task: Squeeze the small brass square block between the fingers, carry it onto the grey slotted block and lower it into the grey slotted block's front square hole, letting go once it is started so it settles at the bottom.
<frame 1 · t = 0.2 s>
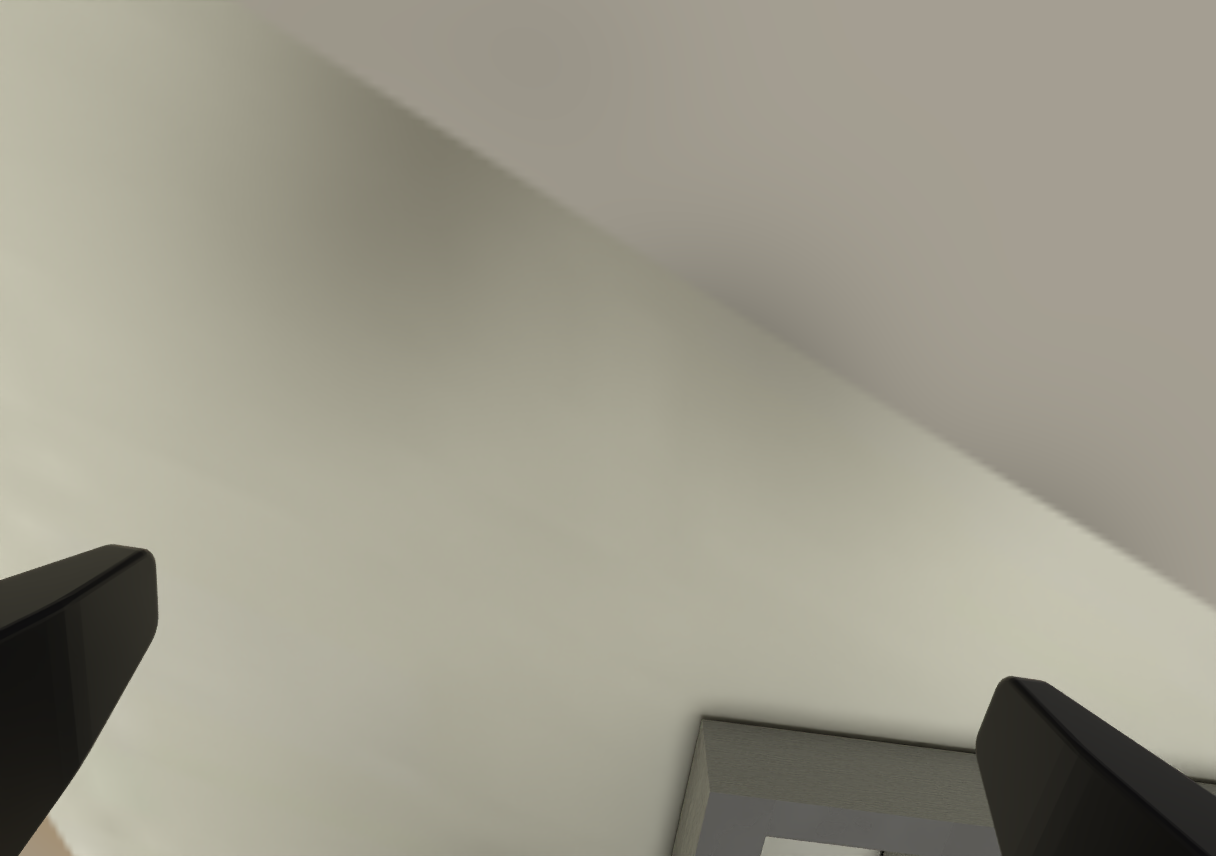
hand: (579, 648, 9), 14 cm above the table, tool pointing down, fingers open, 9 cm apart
grey slotted block: (943, 845, 29), on the table
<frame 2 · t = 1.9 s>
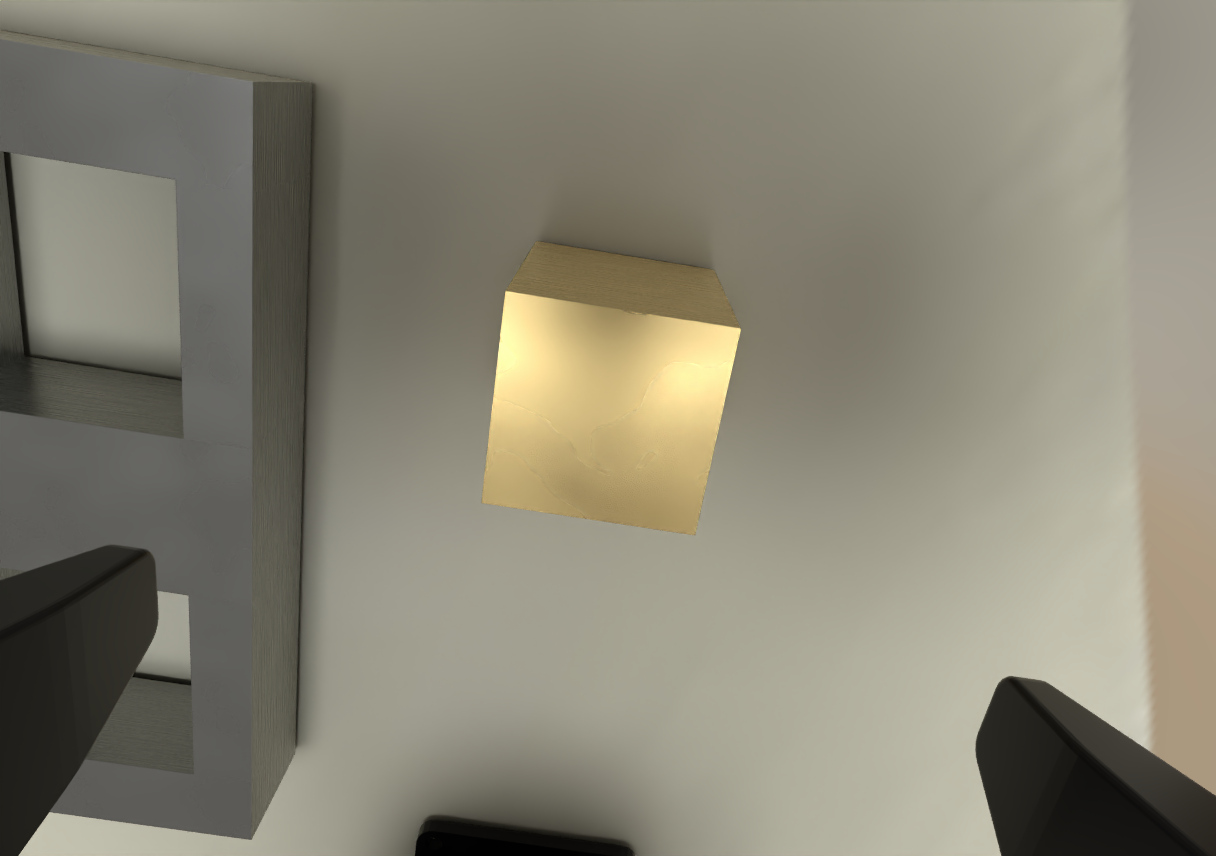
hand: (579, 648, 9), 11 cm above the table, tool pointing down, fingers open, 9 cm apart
grey slotted block: (139, 446, 21), on the table
brass block: (611, 341, 20), on the table
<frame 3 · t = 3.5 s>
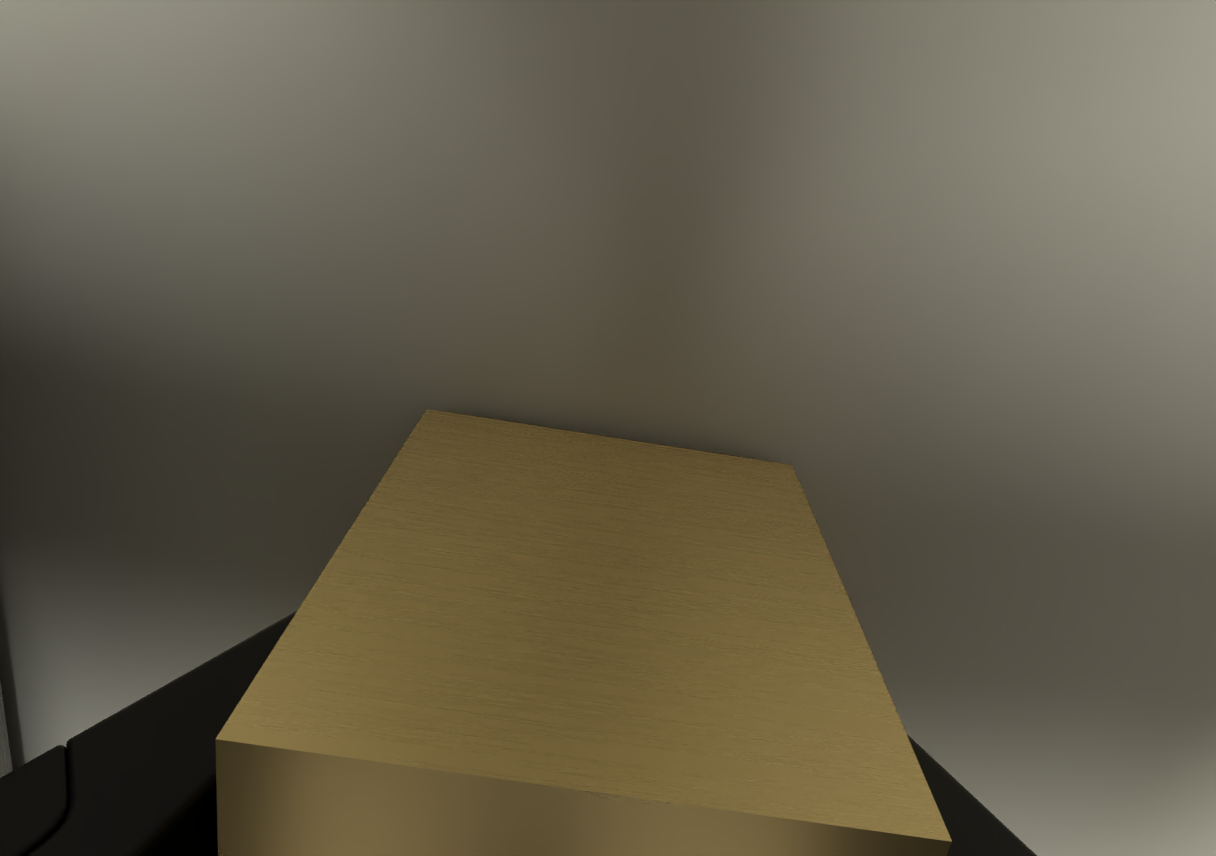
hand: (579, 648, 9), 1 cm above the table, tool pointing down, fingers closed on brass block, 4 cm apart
brass block: (584, 593, 10), on the table, touching gripper
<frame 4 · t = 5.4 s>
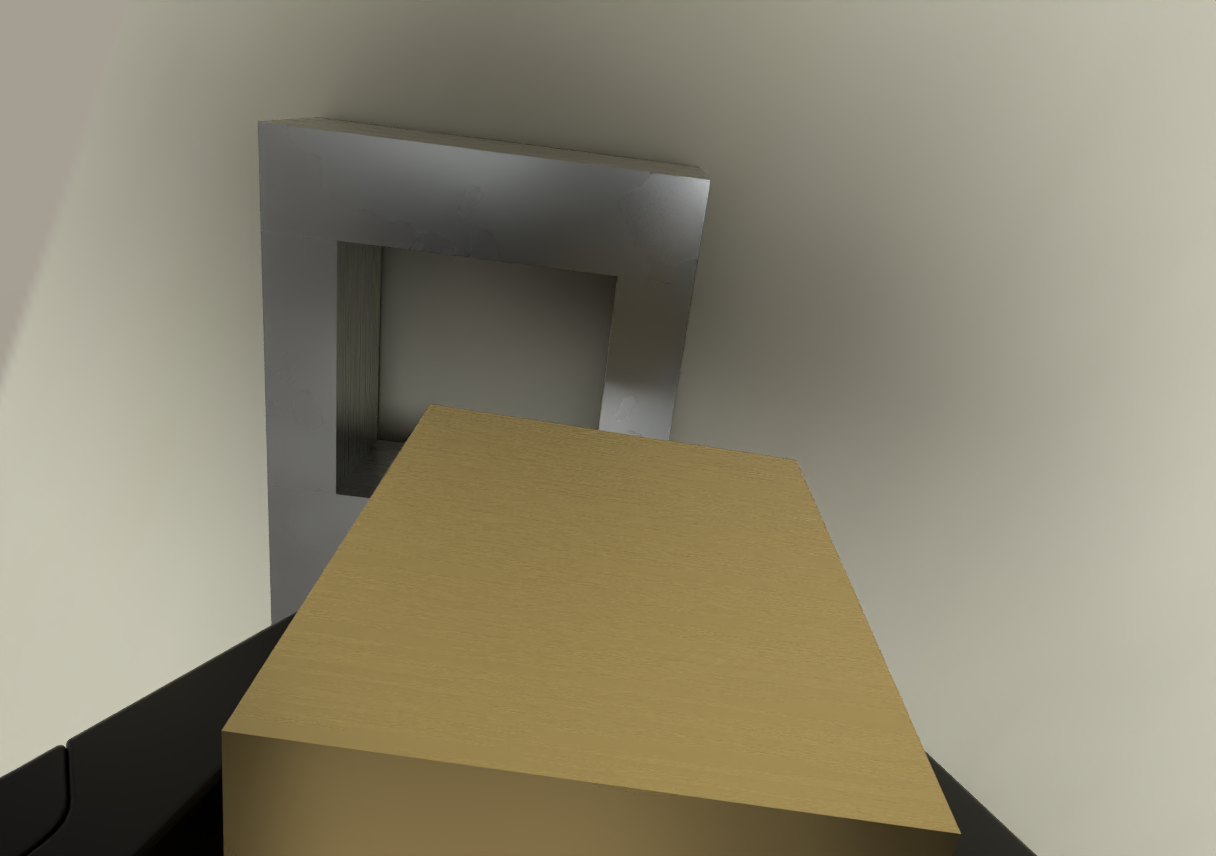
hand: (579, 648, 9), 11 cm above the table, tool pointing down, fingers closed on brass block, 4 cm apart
grey slotted block: (479, 522, 21), on the table
brass block: (587, 589, 10), point 10 cm above the table, touching gripper
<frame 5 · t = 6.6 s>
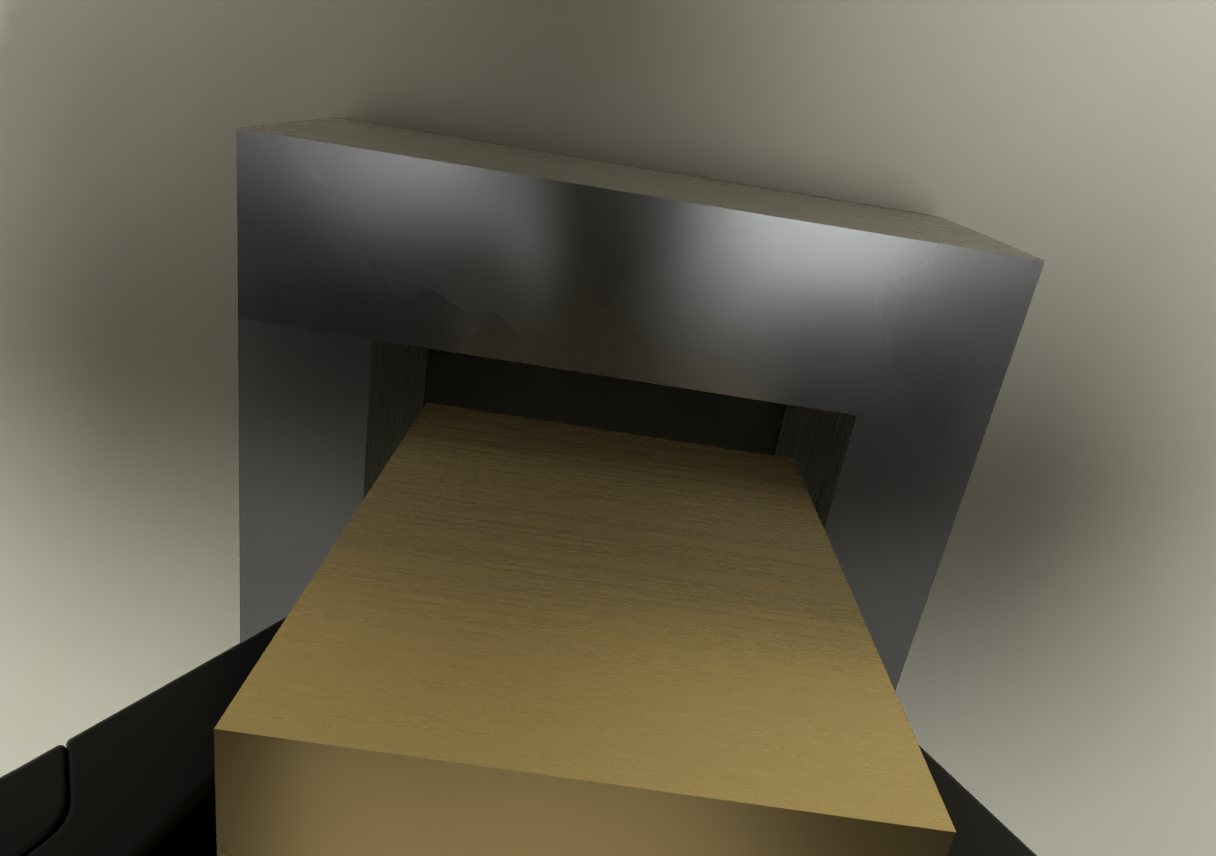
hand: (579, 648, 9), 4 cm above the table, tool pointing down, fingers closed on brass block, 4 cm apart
grey slotted block: (553, 714, 14), on the table
brass block: (584, 588, 10), point 3 cm above the table, touching gripper
when the fingers open (3 cm above the table, at t = 7.4 s): brass block drops 3 cm, resting in grey slotted block.
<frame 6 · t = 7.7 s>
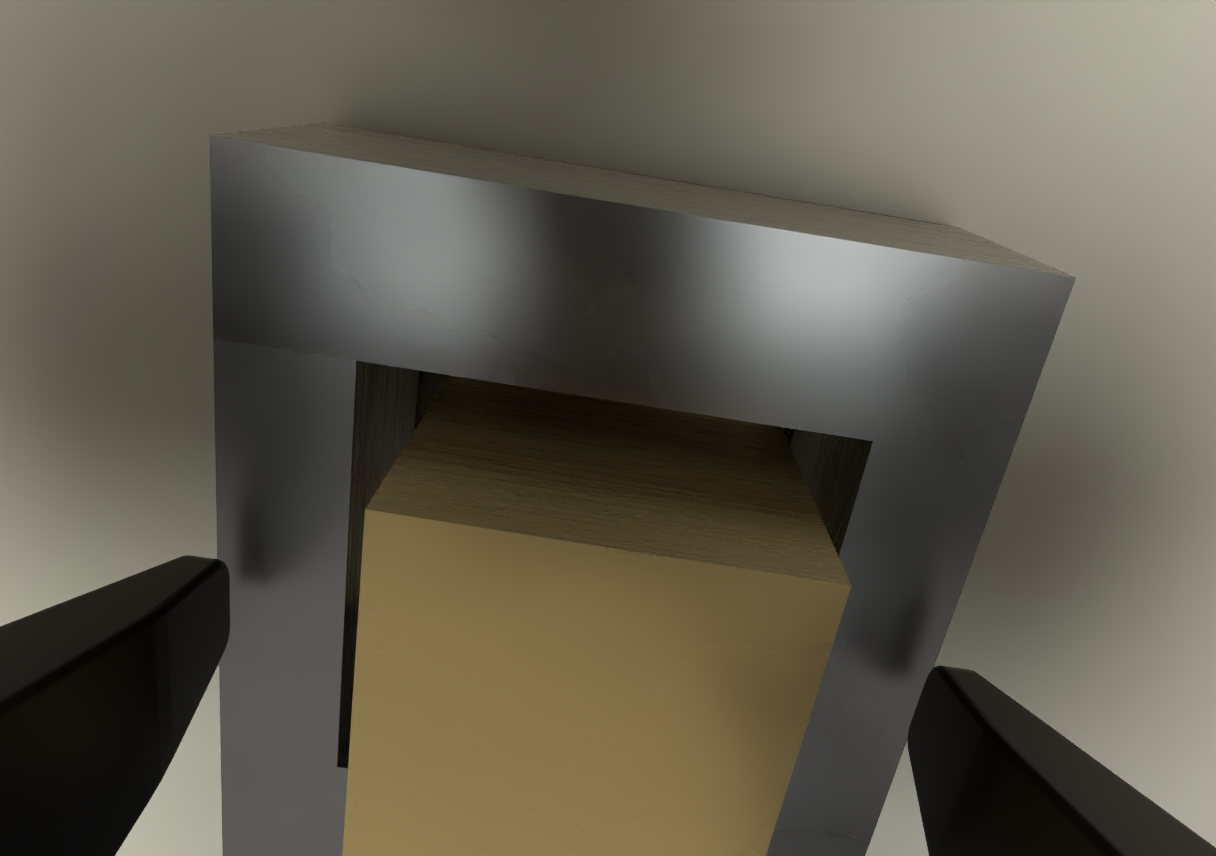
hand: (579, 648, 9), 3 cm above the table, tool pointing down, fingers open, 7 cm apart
grey slotted block: (551, 742, 14), on the table
brass block: (595, 493, 12), resting in grey slotted block
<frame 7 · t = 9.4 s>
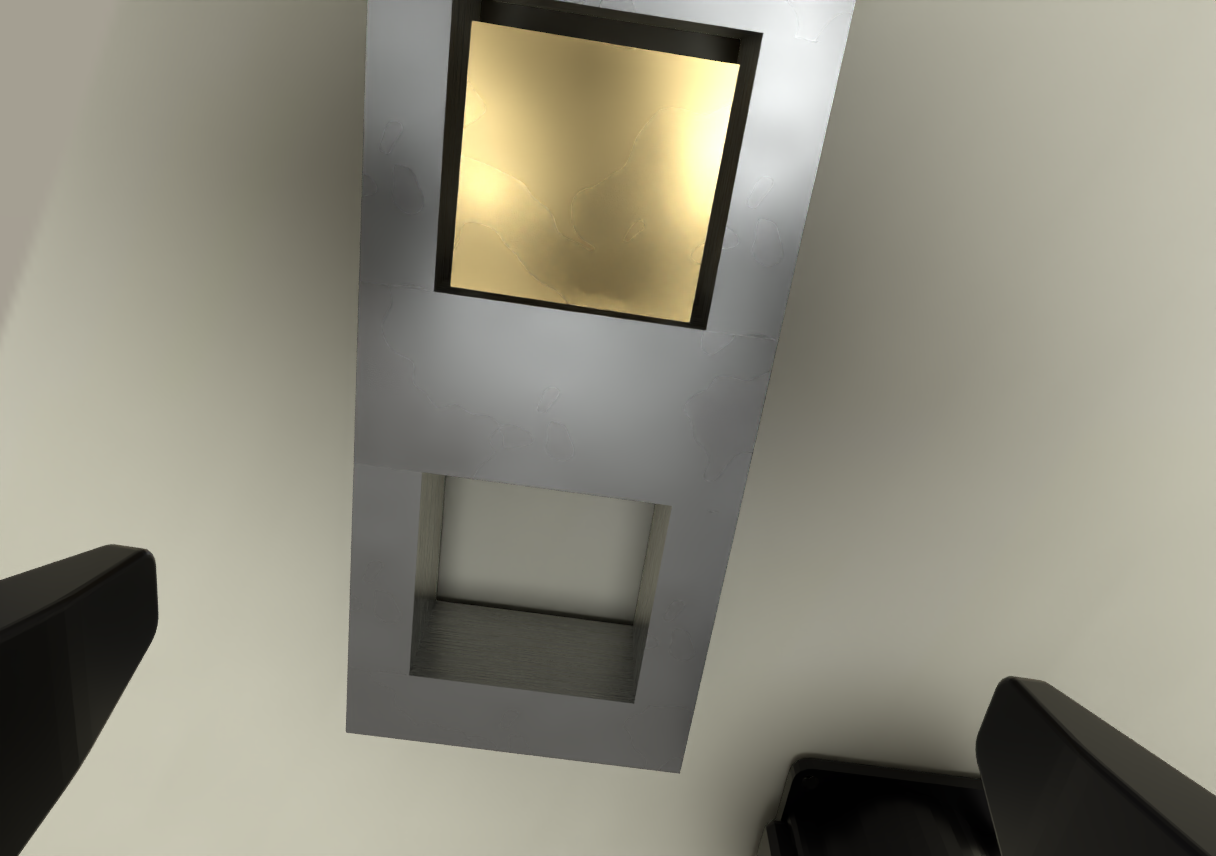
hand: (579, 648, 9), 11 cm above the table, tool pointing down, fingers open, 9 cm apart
grey slotted block: (568, 357, 20), on the table
brass block: (596, 153, 18), resting in grey slotted block
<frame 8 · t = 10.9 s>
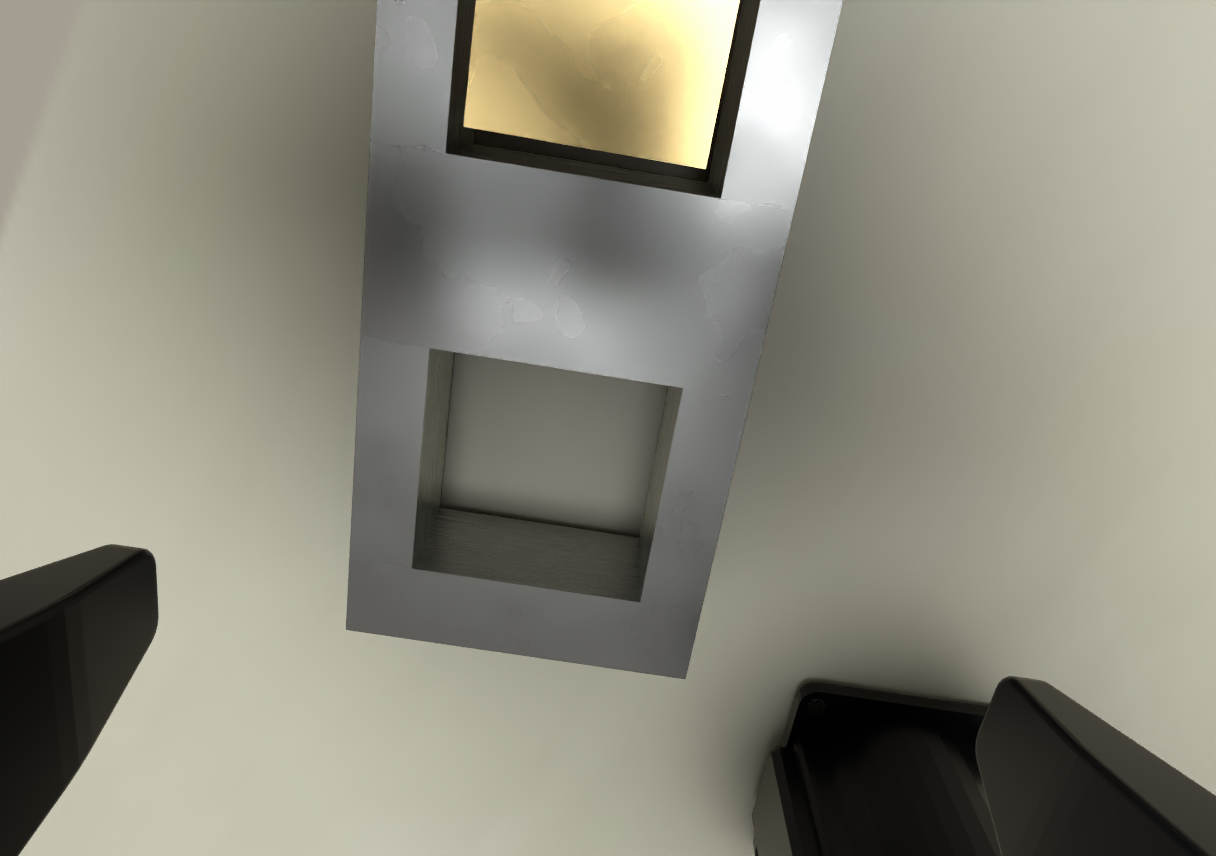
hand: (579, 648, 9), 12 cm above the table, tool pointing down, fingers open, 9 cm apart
grey slotted block: (578, 249, 19), on the table
brass block: (612, 33, 18), resting in grey slotted block
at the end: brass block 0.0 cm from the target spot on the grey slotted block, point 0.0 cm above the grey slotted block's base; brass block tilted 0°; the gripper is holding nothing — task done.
